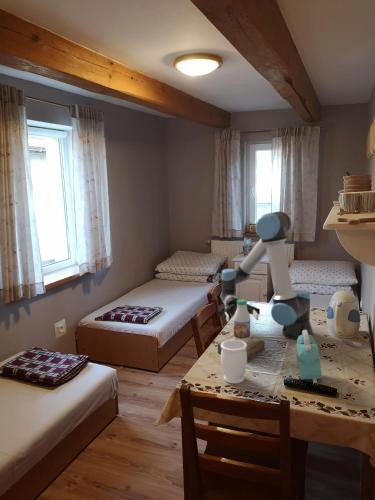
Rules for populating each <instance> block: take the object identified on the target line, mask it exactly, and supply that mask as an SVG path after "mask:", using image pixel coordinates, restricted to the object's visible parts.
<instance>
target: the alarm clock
mask: <svg viewBox="0 0 375 500" xmlns="http://www.w3.org/2000/svg"><path fill="white" fill-rule="evenodd" d="M296 362H297V366H298V367H297V368H298V371H299V376H300V377H299V378H300V380H312V383H313V384H314V383H317V384H318V380H321V379H322V377H323V375H322V366H321V359H320V353H319V347H318V344H317V342H316V340H315V338H314V336H311V335H309V334H308V331H307V330H303V331H302V335H300V336H299V337H298V339H297V340H296Z"/></svg>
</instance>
